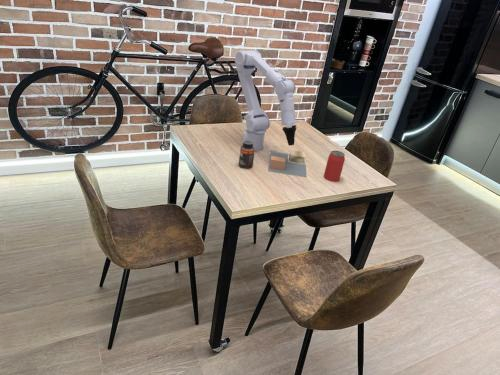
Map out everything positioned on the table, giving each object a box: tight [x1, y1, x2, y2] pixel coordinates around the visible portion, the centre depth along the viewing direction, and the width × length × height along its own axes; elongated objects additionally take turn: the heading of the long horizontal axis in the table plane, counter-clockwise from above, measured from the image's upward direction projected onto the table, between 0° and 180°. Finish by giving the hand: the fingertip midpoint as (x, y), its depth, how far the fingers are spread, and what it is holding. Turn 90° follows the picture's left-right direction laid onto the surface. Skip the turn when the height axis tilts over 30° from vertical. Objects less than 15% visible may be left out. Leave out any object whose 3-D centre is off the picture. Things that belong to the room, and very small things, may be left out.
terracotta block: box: [270, 156, 286, 170], centre depth 158 cm, size 6×4×4 cm, turn 84°
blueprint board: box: [267, 151, 308, 178], centre depth 164 cm, size 16×21×1 cm
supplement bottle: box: [238, 140, 256, 170], centre depth 154 cm, size 6×6×11 cm
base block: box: [289, 149, 306, 164], centre depth 167 cm, size 6×6×3 cm
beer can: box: [323, 150, 346, 183], centre depth 154 cm, size 7×7×12 cm
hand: (291, 144), depth 156 cm, fingers open, 7 cm apart
